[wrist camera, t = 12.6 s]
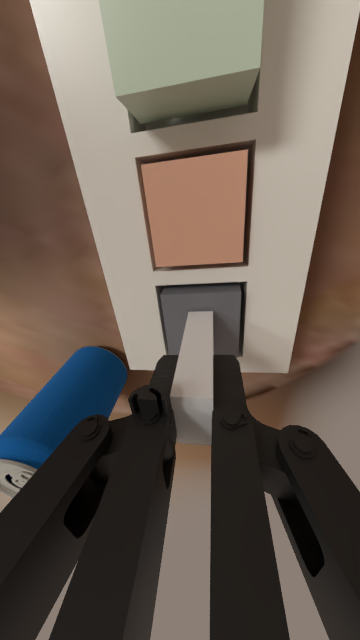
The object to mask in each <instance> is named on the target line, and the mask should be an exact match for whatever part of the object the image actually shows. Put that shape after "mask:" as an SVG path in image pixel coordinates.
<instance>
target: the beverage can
mask: <svg viewBox="0 0 360 640" xmlns="http://www.w3.org/2000/svg"><path fill="white" fill-rule="evenodd" d="M126 380H127V369H126V367H125V365H124V363H123V362H122V361H121V359H120V358H119V357H117V356H116V355H115V354H114V353H112V352H110V351H109V350H106V349H103V348H100V347H95V346H88V347H83V348H81V349H79V350H77V351H76V352H75V353H74V354H73V355H72V356H71V358H70V359H69V360H68V361H67V362H66V363H65V364H64V365H63V366H62V367H61V369H60V370H59V371H58V372H57V373H56V374H55V375H54V376H53V377H52V378H51V380H50V381H49V382H48V383H47V384H46V385H45V386H44V387H43V388H42V389H41V391H40V392H39V393H38V394H37V395H36V396H35V397H34V398H33V399H32V400H31V402H30V403H29V404H28V405H27V406H26V407H25V408H24V409H23V411H22V412H21V413H20V414H19V415H18V416H17V417H16V418H15V419H14V420H13V421H12V422H11V424H10V425H9V426H8V427H7V428H6V429H5V430H4V431H3V432H2V434H1V435H0V491H1V492H2V493H4V494H7V495H9V496H11V497H13V498H14V496H15V495H16V494H17V493H18V492H19V491H20V489H21V488H22V487H23V486H24V485H25V484H26V483H27V481H28V480H29V479H30V478H31V477H32V476H33V474H34V473H35V472H36V471H37V470H38V469H39V467H40V466H41V465H42V464H43V463H44V462H45V461H46V459H47V458H48V457H49V456H50V455H51V454H52V452H53V451H54V450H55V449H56V448H57V447H58V446H59V444H60V443H61V442H62V441H63V440H64V439H65V437H66V436H67V435H68V434H69V433H70V432H71V430H72V429H73V428H74V427H75V426H76V425H77V424H78V423H79V422H80V421H81V420H83V419H84V418H86V417H88V416H91V415H95V414H100V415H104V416H105V417H107V418H109V416H110V414H111V412H112V410H113V408H114V405H115V403H116V401H117V399H118V397H119V395H120V393H121V391H122V389H123V387H124V385H125V383H126Z"/></svg>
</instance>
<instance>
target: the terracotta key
mask: <svg viewBox="0 0 360 640" xmlns="http://www.w3.org/2000/svg"><path fill="white" fill-rule="evenodd" d="M247 160H248V149H247V150H240V151H233V152H226V153H219V154H212V155H205V156H198V157H192V158H185V159H178V160H171V161H164V162H157V163H150V164H143V165H141V170H142V177H143V183H144V190H145V197H146V203H147V210H148V217H149V223H150V230H151V237H152V243H153V250H154V257H155V263H156V267H169V266H186V265H202V264H219V263H236V262H243V244H244V223H245V202H246V181H247Z"/></svg>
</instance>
